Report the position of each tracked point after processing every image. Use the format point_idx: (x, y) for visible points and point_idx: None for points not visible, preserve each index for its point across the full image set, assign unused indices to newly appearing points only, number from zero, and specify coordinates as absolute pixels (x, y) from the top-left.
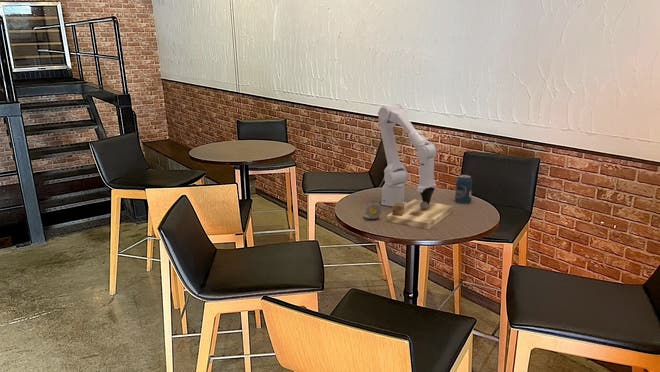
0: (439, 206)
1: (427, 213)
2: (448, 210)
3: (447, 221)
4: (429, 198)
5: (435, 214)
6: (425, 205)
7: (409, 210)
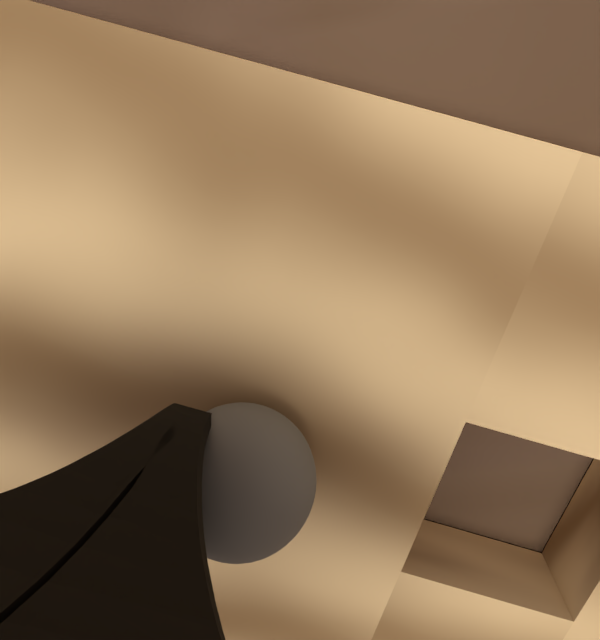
0: (14, 215)
1: (470, 370)
2: (103, 24)
3: (486, 6)
4: (182, 491)
5: (501, 233)
6: (303, 467)
7: (382, 609)
